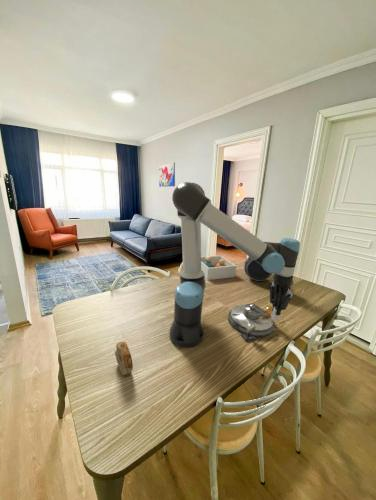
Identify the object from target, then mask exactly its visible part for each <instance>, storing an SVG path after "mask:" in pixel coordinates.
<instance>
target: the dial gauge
mask: <svg viewBox="0 0 376 500" xmlns="http://www.w3.org/2000/svg"><path fill="white" fill-rule="evenodd" d="M246 330H247V334H246V333H240V336H241V338H242V339H243V340H244V341H245V342H251V341H254V340H256V339H257V337H255V336H254V335H250V333H252V332H253V331H254V330H255V325H254V324H252V323H250V324H248V325H247V327H246Z"/></svg>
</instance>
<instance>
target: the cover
mask: <svg viewBox="0 0 376 500" xmlns="http://www.w3.org/2000/svg"><path fill="white" fill-rule="evenodd" d="M244 305H245V306H244V311H243V315H244V316H245V317H246V318H247V319H250V320H258V319H259V318H260V313H261V309H262V308H261V307H260V306H259V305H256V304H255V303H247V304H244Z"/></svg>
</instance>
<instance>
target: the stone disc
mask: <svg viewBox="0 0 376 500" xmlns="http://www.w3.org/2000/svg"><path fill="white" fill-rule="evenodd" d="M115 346H116V347H115V348H116V350H115V351H114V355H115V359H116V363H117V365H118V367H119V370H120V372H121V374H122V375H123V376H125V375H128V374H130V373H132V371H133V369H134V368H133V359H132V358H133V357H132V355H131V352H130V348H129V346H128V343H127V341H119V342H117V343H116V345H115Z"/></svg>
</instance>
